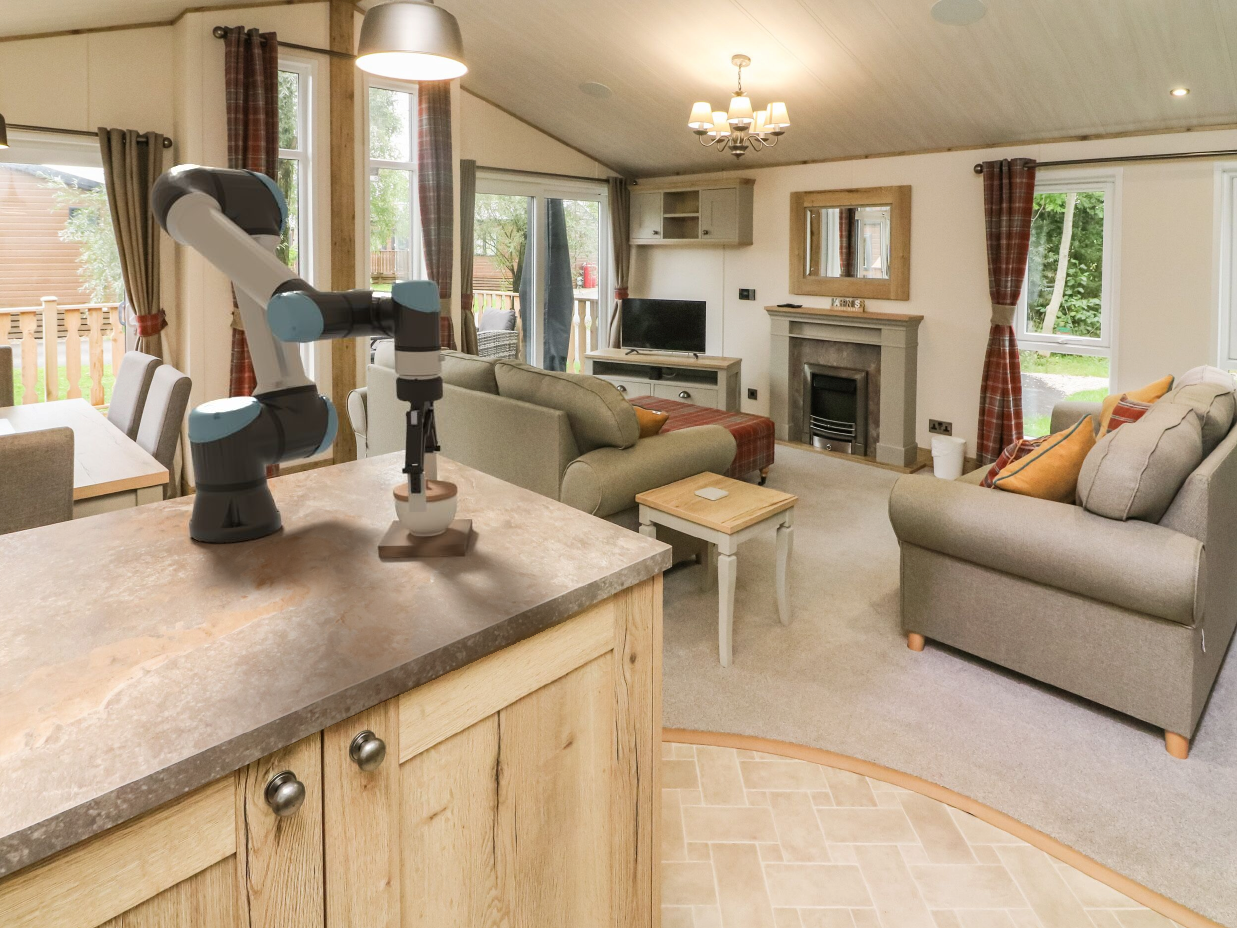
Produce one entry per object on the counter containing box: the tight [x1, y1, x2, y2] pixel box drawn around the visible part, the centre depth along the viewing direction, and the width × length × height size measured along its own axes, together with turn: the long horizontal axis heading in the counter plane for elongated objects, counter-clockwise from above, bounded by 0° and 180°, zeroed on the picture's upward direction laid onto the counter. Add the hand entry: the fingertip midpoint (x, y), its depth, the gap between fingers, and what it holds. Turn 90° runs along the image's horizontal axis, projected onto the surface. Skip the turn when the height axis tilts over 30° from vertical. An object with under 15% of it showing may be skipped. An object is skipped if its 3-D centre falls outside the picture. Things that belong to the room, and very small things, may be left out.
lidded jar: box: [392, 478, 458, 537], centre depth 143 cm, size 11×11×9 cm
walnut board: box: [377, 518, 474, 559], centre depth 144 cm, size 14×14×2 cm
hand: (424, 499), depth 142 cm, fingers open, 13 cm apart
